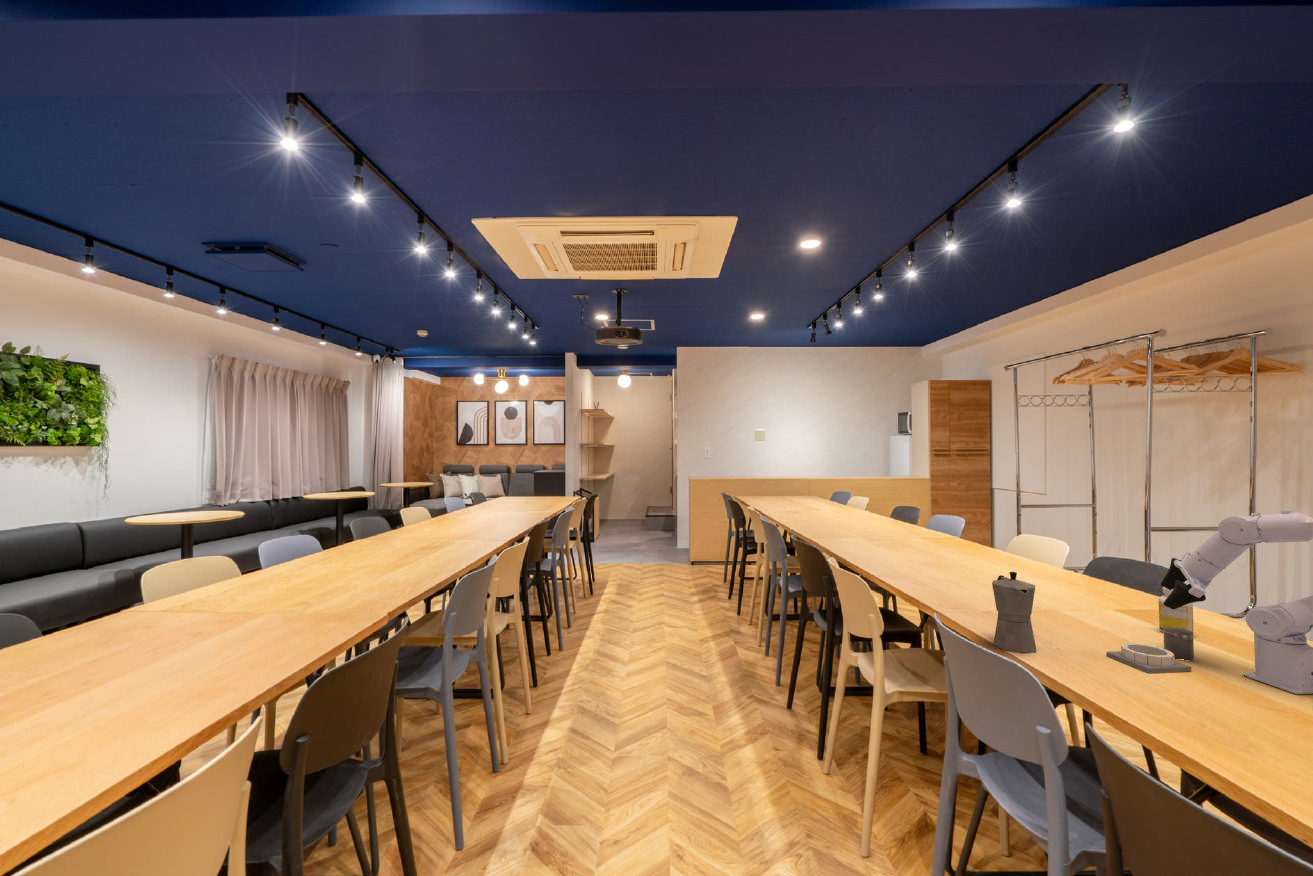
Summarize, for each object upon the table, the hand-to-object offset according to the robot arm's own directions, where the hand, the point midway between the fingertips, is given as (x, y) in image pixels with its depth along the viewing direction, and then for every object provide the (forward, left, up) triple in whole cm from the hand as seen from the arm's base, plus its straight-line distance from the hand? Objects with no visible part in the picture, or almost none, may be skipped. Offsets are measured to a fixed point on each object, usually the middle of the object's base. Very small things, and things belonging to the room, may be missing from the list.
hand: (1167, 596), depth 132 cm
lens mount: (-7, +13, -13) cm, 19 cm away
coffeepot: (+7, +34, -13) cm, 37 cm away
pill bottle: (+11, -14, -13) cm, 22 cm away
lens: (-4, +2, -13) cm, 13 cm away
